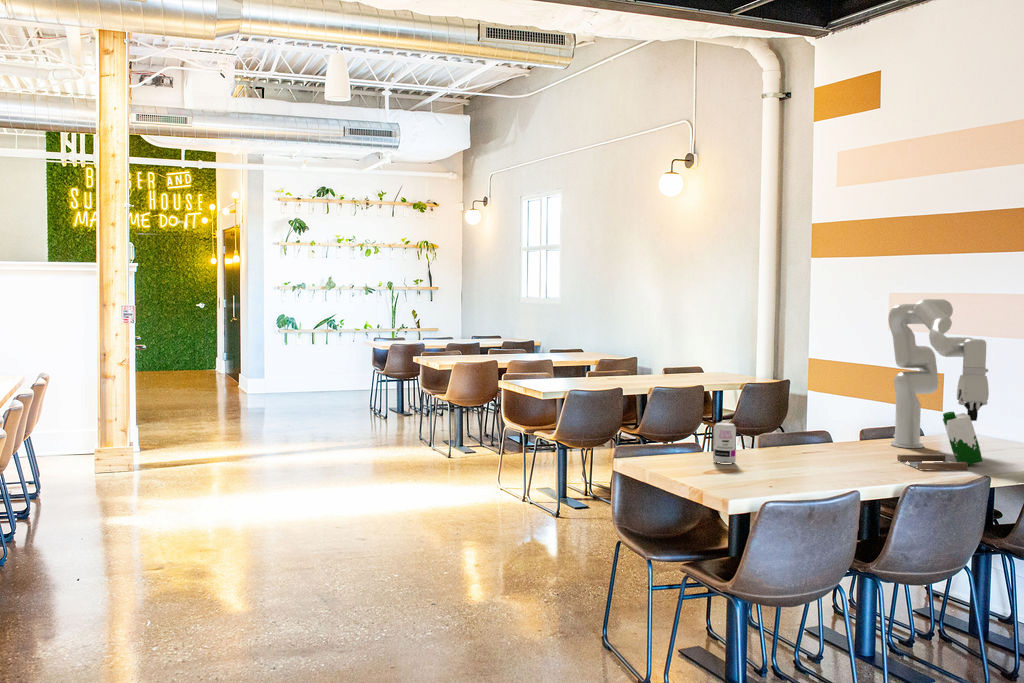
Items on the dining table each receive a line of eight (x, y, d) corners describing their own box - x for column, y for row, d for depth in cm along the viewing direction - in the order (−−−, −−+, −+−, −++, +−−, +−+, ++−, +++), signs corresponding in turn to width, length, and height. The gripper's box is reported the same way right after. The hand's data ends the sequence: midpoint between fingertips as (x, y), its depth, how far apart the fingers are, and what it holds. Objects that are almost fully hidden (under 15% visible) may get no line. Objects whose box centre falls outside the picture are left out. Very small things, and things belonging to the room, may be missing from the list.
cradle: (897, 461, 329) (897, 454, 329) (942, 460, 330) (942, 454, 330) (920, 470, 313) (920, 463, 313) (967, 469, 314) (967, 463, 314)
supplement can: (727, 460, 331) (728, 421, 330) (739, 464, 323) (740, 425, 322) (709, 461, 328) (709, 422, 327) (720, 465, 320) (721, 426, 319)
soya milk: (953, 462, 328) (938, 413, 328) (978, 456, 326) (963, 406, 326) (961, 467, 319) (945, 416, 319) (986, 461, 317) (970, 410, 317)
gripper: (987, 370, 324) (985, 418, 325) (949, 370, 323) (947, 418, 325) (999, 372, 317) (997, 421, 318) (960, 372, 316) (958, 422, 317)
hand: (972, 420), depth 321 cm, fingers closed
